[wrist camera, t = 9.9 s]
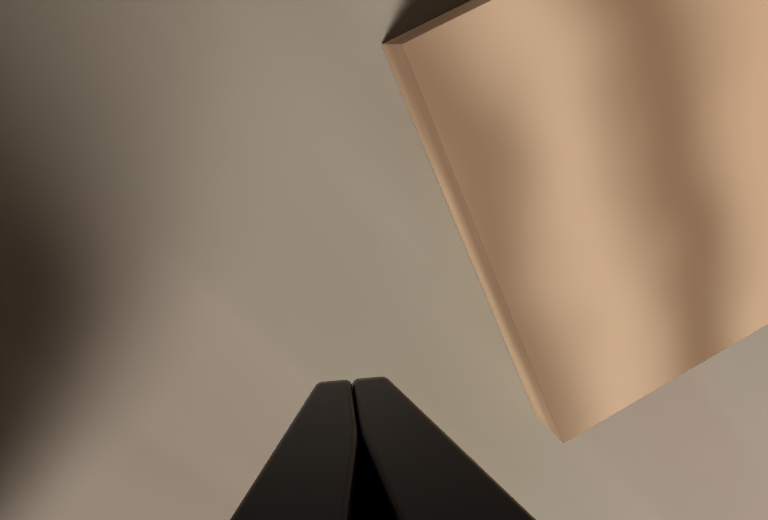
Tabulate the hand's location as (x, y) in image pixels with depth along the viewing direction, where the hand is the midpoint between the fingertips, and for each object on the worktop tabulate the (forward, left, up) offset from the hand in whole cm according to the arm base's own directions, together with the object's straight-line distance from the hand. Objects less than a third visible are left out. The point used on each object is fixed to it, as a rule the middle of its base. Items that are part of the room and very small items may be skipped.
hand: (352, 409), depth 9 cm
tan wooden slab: (+4, -12, -13) cm, 18 cm away
